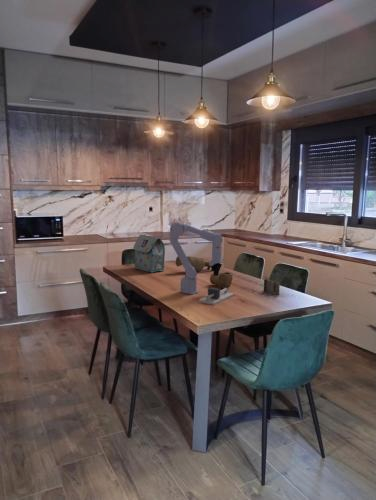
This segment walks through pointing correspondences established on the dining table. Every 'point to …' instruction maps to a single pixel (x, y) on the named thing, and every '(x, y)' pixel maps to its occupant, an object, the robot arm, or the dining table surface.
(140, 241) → the lunch bag
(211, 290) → the collar
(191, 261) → the olive brown long piece
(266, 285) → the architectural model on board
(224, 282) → the brown lobed block
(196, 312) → the dining table surface
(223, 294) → the rail board
